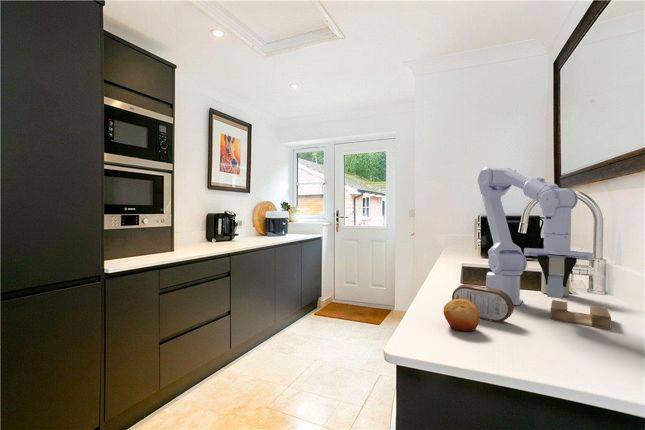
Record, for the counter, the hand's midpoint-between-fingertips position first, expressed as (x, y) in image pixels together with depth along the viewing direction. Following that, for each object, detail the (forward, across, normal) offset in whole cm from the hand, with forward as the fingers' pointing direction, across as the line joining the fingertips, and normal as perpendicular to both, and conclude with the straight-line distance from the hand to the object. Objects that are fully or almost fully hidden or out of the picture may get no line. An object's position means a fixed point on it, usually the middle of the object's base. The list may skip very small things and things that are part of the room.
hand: (556, 285), depth 84 cm
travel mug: (+10, -2, +34) cm, 36 cm away
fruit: (+10, -18, -23) cm, 30 cm away
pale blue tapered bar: (+2, 0, 0) cm, 3 cm away
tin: (+10, -16, -11) cm, 22 cm away
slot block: (+9, +5, +6) cm, 12 cm away
